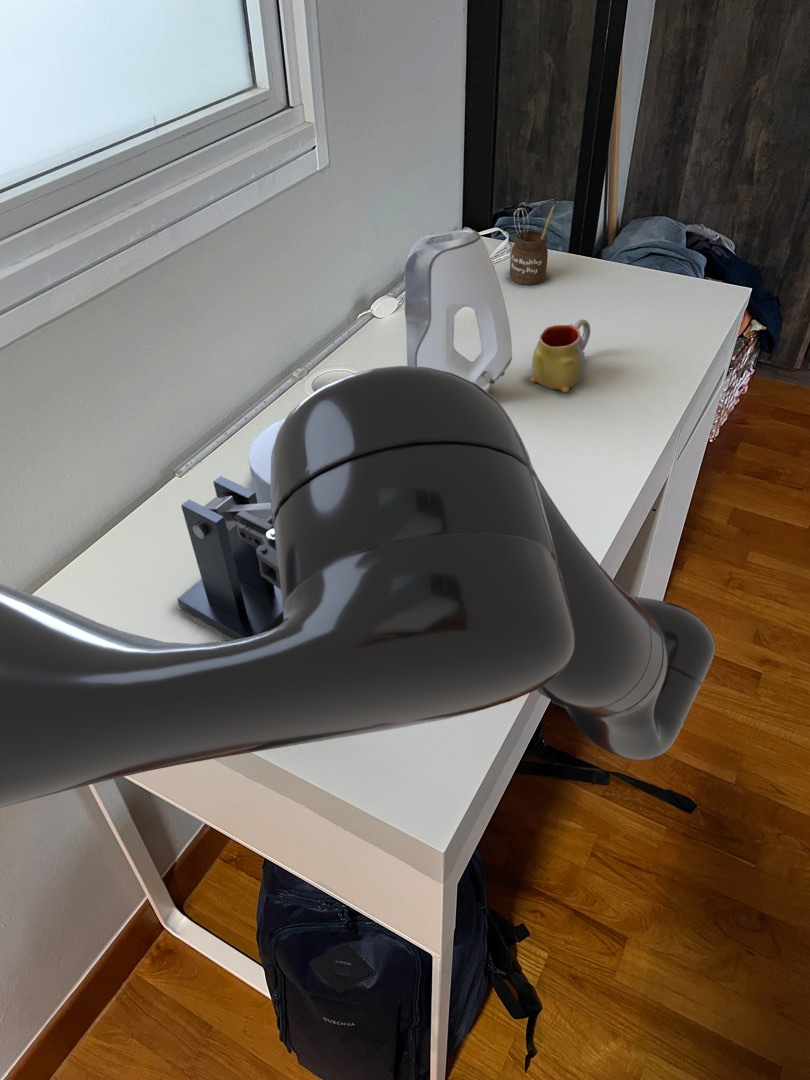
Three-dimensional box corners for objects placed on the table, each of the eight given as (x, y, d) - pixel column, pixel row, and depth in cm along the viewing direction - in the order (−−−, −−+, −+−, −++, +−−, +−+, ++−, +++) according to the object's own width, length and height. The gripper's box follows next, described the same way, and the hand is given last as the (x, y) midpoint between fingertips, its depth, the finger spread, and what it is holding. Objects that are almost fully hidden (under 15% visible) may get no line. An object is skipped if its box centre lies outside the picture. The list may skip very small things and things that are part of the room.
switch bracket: (307, 599, 83) (290, 494, 73) (252, 650, 78) (227, 545, 69) (235, 561, 87) (210, 457, 78) (179, 607, 82) (146, 503, 73)
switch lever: (323, 501, 69) (310, 477, 68) (275, 542, 66) (261, 517, 65) (242, 507, 78) (230, 486, 77) (196, 543, 74) (183, 521, 73)
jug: (407, 402, 108) (401, 239, 94) (412, 381, 112) (407, 221, 98) (508, 407, 107) (518, 241, 92) (509, 385, 111) (520, 223, 96)
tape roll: (405, 504, 93) (404, 468, 90) (276, 542, 89) (270, 507, 86) (357, 432, 104) (354, 398, 100) (239, 464, 99) (232, 430, 96)
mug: (564, 398, 108) (570, 353, 104) (520, 381, 111) (524, 337, 107) (609, 360, 115) (616, 316, 110) (566, 345, 118) (571, 302, 114)
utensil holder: (514, 267, 137) (519, 194, 129) (551, 272, 136) (558, 199, 127) (504, 282, 133) (508, 208, 125) (542, 288, 132) (549, 213, 123)
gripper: (485, 488, 63) (316, 420, 70) (373, 603, 54) (194, 512, 62) (481, 558, 68) (325, 488, 75) (378, 673, 59) (213, 581, 67)
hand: (267, 499), depth 68 cm, fingers closed on switch lever, 6 cm apart
